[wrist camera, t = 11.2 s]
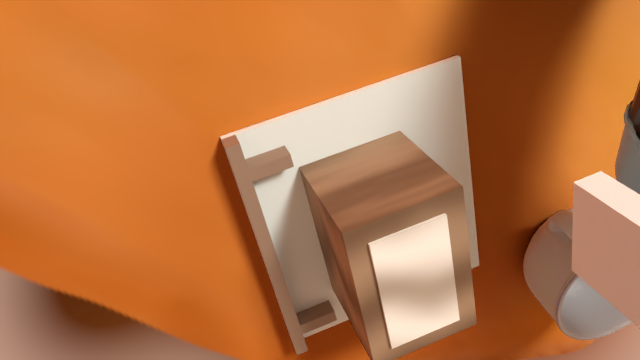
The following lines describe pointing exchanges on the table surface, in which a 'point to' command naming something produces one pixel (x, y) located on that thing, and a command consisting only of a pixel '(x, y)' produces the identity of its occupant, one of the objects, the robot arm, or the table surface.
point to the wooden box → (393, 244)
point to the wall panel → (328, 139)
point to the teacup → (566, 283)
